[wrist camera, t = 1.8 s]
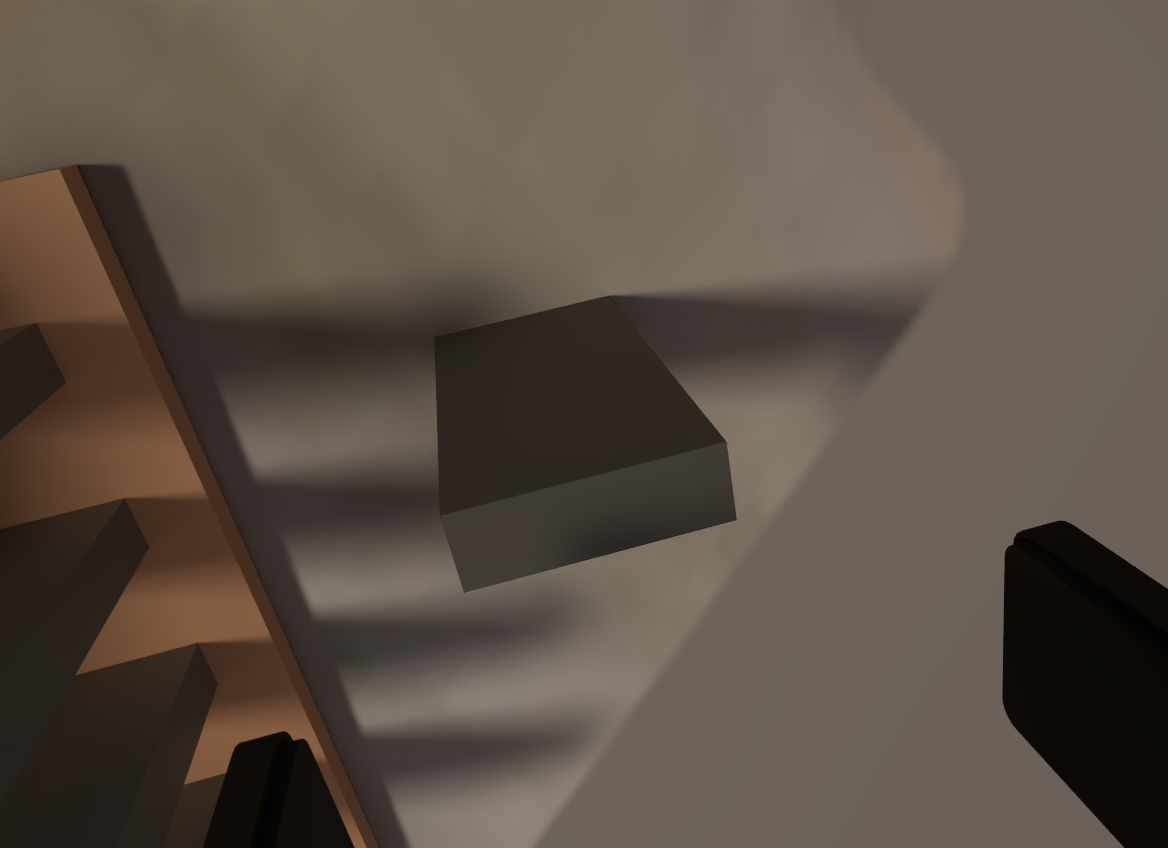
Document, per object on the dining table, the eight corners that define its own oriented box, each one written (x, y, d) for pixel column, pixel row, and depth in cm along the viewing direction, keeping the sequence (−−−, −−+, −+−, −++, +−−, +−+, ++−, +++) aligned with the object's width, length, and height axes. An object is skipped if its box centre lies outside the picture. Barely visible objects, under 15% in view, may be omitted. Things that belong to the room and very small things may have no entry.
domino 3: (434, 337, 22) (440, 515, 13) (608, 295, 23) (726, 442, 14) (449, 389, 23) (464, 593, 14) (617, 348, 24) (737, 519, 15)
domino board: (-325, 250, 19) (-364, 259, 18) (76, 164, 19) (58, 168, 18) (148, 948, 30) (139, 976, 29) (391, 876, 30) (390, 901, 29)
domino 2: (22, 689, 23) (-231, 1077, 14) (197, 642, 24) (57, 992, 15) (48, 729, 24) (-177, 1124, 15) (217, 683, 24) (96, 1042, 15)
